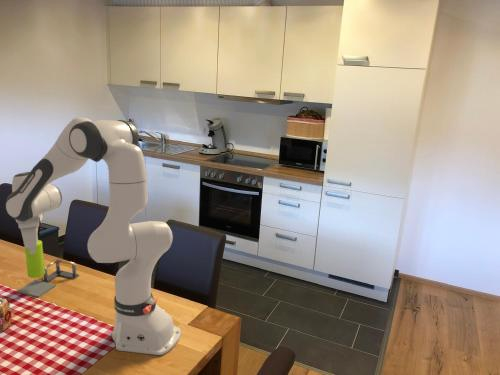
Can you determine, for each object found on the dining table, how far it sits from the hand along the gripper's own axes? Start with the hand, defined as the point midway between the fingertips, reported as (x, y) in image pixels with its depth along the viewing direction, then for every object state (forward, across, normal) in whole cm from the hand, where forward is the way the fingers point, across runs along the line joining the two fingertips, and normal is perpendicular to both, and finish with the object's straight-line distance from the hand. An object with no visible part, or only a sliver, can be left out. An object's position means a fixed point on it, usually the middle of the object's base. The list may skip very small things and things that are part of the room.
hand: (32, 249), depth 156 cm
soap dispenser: (+11, 0, 0) cm, 11 cm away
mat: (+17, 0, 0) cm, 17 cm away
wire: (+17, -5, +9) cm, 20 cm away
